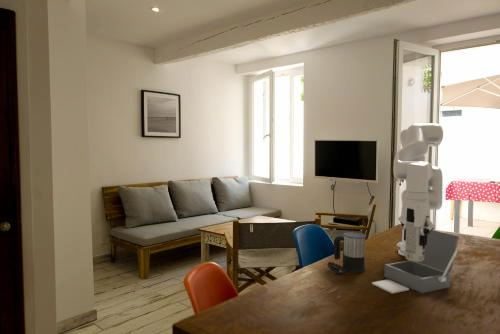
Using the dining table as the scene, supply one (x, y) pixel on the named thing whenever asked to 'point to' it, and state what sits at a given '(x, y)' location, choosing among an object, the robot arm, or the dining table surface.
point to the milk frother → (349, 253)
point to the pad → (390, 286)
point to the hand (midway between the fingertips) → (415, 242)
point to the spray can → (413, 239)
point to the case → (427, 265)
